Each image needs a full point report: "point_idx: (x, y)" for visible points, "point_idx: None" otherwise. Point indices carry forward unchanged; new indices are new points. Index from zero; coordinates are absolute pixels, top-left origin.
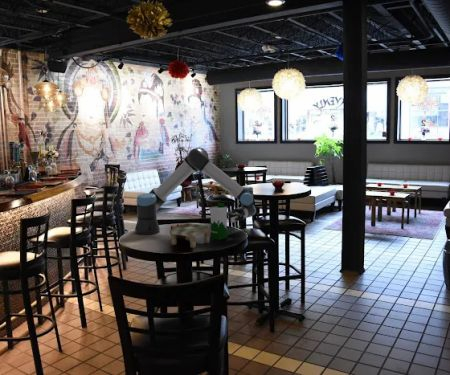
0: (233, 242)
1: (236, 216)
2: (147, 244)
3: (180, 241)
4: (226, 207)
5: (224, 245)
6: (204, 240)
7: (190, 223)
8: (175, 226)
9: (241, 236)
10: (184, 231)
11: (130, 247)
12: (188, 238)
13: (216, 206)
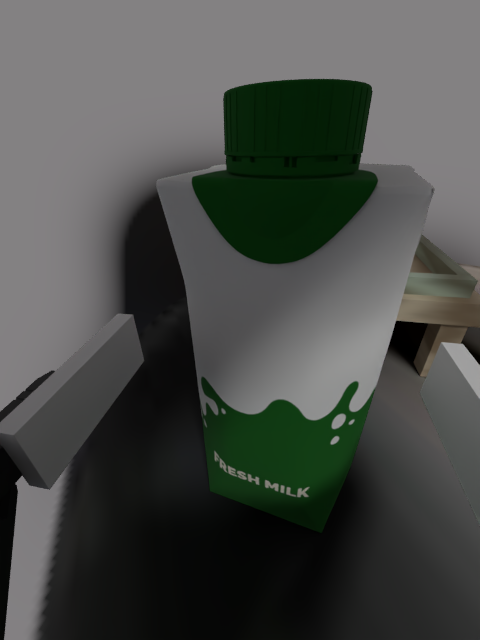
0: (140, 386)
1: (28, 400)
2: (474, 288)
3: (420, 337)
4: (175, 175)
5: (180, 335)
6: None
7: (442, 276)
8: (425, 238)
9: (55, 631)
10: None
11: (469, 266)
12: (416, 355)
13: (407, 176)
